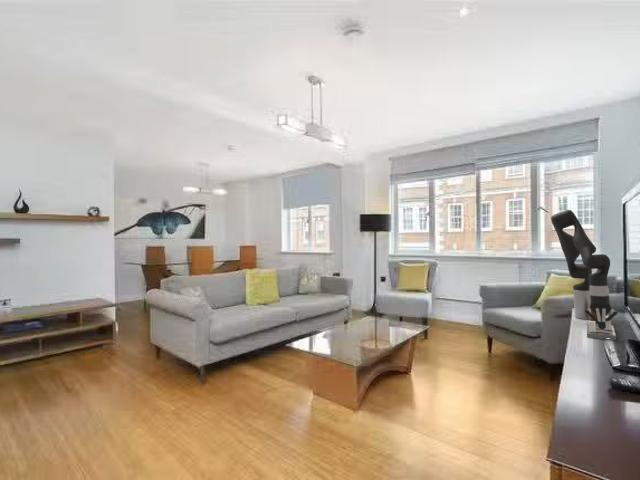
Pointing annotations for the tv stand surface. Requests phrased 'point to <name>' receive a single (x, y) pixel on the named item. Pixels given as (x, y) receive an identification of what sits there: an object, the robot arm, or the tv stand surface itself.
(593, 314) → the mug
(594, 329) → the block
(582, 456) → the tv stand surface
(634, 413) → the tv stand surface
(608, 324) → the block
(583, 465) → the tv stand surface
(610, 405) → the tv stand surface
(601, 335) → the breaker panel
